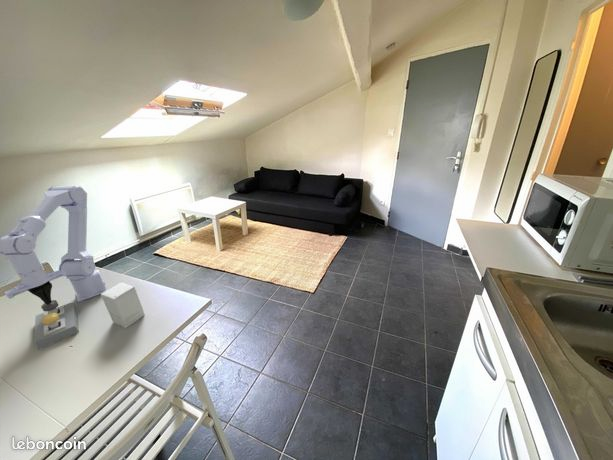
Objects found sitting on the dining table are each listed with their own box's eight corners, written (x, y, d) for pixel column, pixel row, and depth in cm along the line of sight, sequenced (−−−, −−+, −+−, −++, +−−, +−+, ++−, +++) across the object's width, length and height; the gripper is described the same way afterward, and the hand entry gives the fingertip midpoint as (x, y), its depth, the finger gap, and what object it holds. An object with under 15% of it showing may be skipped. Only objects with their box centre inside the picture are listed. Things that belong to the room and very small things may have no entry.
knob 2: (63, 321, 89) (57, 310, 87) (63, 328, 86) (57, 317, 84) (47, 328, 86) (40, 316, 84) (47, 334, 84) (40, 323, 82)
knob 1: (62, 309, 95) (56, 298, 92) (62, 315, 92) (56, 304, 90) (47, 314, 92) (41, 303, 90) (47, 320, 89) (41, 309, 87)
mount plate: (75, 308, 99) (71, 301, 97) (78, 332, 88) (74, 324, 86) (39, 322, 93) (34, 314, 91) (38, 349, 82) (33, 341, 80)
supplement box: (145, 314, 95) (135, 286, 90) (125, 328, 89) (113, 299, 84) (132, 309, 98) (121, 281, 92) (112, 322, 92) (99, 293, 86)
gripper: (52, 256, 91) (68, 287, 97) (-7, 277, 80) (15, 311, 86) (61, 261, 88) (77, 293, 94) (1, 284, 77) (23, 319, 83)
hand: (48, 302), depth 90 cm, fingers closed
